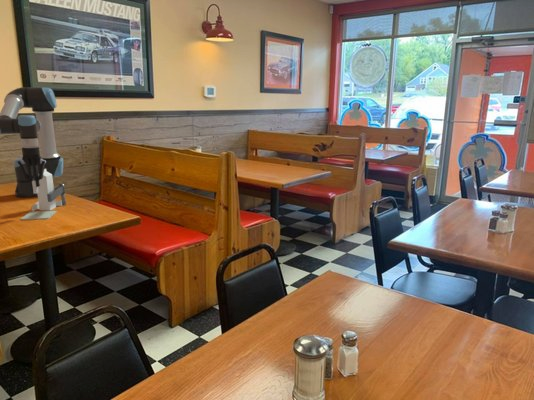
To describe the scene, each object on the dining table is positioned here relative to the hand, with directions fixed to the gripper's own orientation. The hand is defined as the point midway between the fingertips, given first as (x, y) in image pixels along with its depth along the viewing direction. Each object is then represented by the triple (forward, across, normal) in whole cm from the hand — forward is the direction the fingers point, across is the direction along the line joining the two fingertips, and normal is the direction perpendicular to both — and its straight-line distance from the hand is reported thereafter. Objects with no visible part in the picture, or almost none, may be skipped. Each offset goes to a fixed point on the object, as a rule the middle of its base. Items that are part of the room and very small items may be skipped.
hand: (36, 192), depth 211 cm
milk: (+12, 0, +12) cm, 17 cm away
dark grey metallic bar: (+5, +6, +10) cm, 13 cm away
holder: (+12, +1, +15) cm, 19 cm away
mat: (+12, 0, -1) cm, 12 cm away
